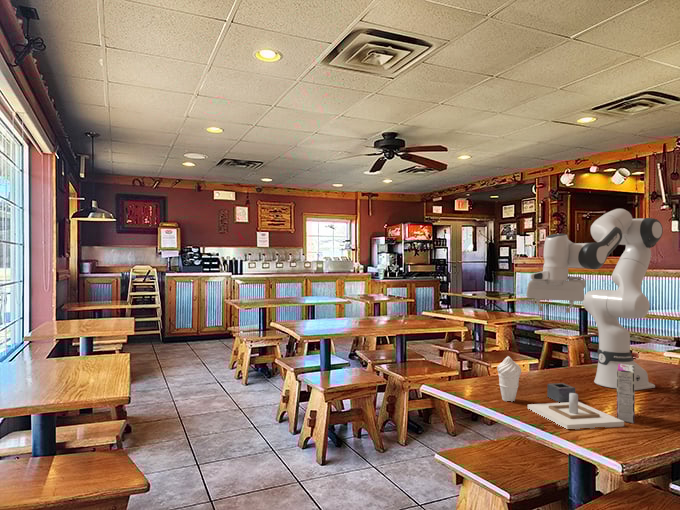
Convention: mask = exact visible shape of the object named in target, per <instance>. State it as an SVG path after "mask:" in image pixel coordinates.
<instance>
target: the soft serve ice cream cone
mask: <svg viewBox="0 0 680 510" xmlns="http://www.w3.org/2000/svg"><path fill="white" fill-rule="evenodd" d="M496 370H497V373H498V379H499V380H498V381H499V383H498V386H499V388H500V394H501V399H502V400H503V401H504V402H507V401H511V402H510V403H513V401H514V402H515V401H516V397H517V392H518V389H519V382H520V378H521V377H520V376H521V374H522V368H521V367H520V365H519V364H518V363H516V361H514V360H513V359H512V358H511V357H510V356H509V355H507V356H506V357H505V358H504V359H503V361H502V362H500V363H499V364H498V365H497V368H496Z"/></svg>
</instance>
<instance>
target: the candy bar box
mask: <svg viewBox="0 0 680 510" xmlns="http://www.w3.org/2000/svg"><path fill="white" fill-rule="evenodd" d="M635 391H636V390H635V371H634V365H627V364H618V368H617V388H616V418H617V419H620V420H622V421H624V423H628V424H629V423H630V424H635V408H636V405H635V402H636V401H635V397H636V396H635V393H636V392H635Z"/></svg>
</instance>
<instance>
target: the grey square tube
mask: <svg viewBox="0 0 680 510" xmlns="http://www.w3.org/2000/svg"><path fill="white" fill-rule="evenodd" d="M569 393H576V387H574V386H571V385H569V384H567V383H564V382H559V383H557V382H556V383H547V393H546V394H547V395H546V396H547V398H548V397H549V398H548V399H550V398H551V399H550V400H552V399H553V401H555V402H557V401H558V402H557V403H559V402H560V403H565V402H569Z"/></svg>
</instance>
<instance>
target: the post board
mask: <svg viewBox="0 0 680 510" xmlns="http://www.w3.org/2000/svg"><path fill="white" fill-rule="evenodd" d="M527 409H528V410H529V409H530V410H529V411H531V410H532V411H531V412H533V413H534V412H535V414H536V413H537V414H536V415H538V414H539V415H538V416H540V415H541V416H540V417H542V416H543V417H542V418H544V417H545V418H544V419H546V418H547V419H546V420H548V419H549V420H551V421H553V422H555V423H556V424H555V423H554V424H555V425H557V424H558V425H557V426H559V425H560V426H559V427H561V426H562V427H564V428H566V429H575V430H581V429H580V428H590V429H596V428H595V427H605V428H617V427H625V422H624V421H622V420H620V419H617V417H616V416H613V415H611V414H608V413H606V412H604V411H600V410H598V409H596V408H594V407H592V406H590V405H587V404H585V403H583V402H581V401H579V394H578V393H576V392H575V393H569V402H560V403H559V402H547V403H534V404H533V403H531V404H527ZM549 420H548V421H549ZM551 421H550V422H551ZM553 422H552V423H553ZM562 427H561V428H562ZM564 428H563V429H564ZM566 429H565V430H566Z"/></svg>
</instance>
